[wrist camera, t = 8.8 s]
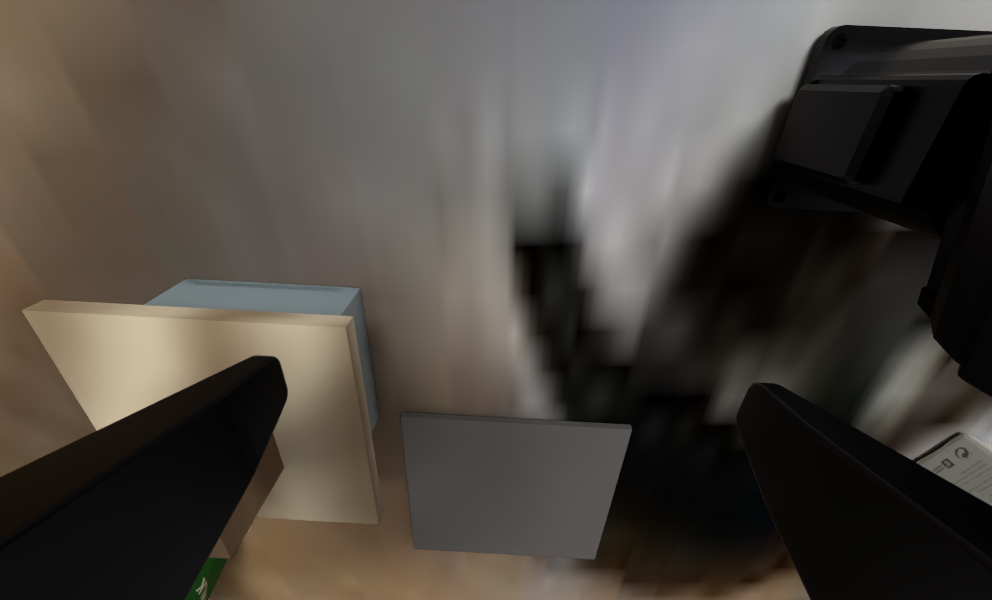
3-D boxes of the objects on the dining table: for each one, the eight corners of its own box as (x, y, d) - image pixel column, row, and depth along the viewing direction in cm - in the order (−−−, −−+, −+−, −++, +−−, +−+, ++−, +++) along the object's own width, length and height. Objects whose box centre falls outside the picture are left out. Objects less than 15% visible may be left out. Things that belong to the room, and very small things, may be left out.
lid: (353, 316, 15) (293, 405, 11) (383, 509, 21) (351, 617, 17) (44, 300, 15) (-133, 382, 11) (158, 496, 21) (71, 600, 17)
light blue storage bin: (360, 288, 20) (319, 344, 16) (378, 416, 25) (349, 489, 20) (186, 278, 20) (97, 332, 16) (234, 408, 25) (175, 479, 20)
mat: (630, 424, 24) (632, 429, 24) (593, 554, 31) (594, 559, 31) (402, 412, 24) (400, 416, 24) (415, 543, 31) (414, 548, 31)
